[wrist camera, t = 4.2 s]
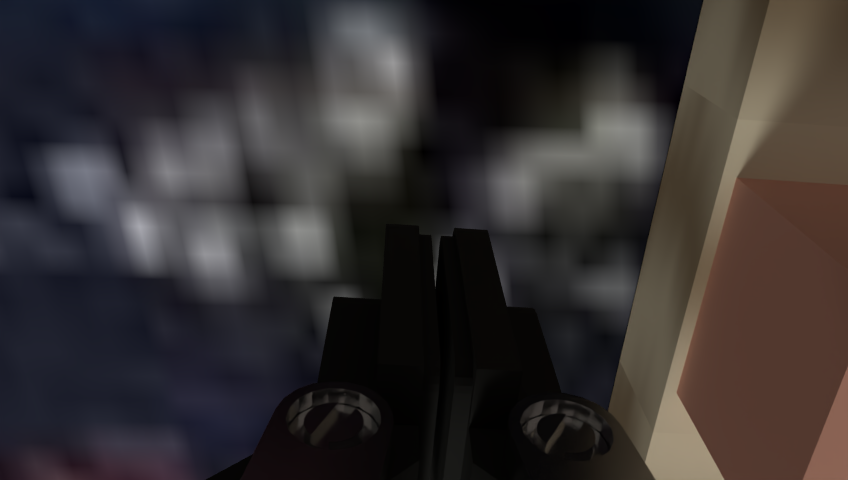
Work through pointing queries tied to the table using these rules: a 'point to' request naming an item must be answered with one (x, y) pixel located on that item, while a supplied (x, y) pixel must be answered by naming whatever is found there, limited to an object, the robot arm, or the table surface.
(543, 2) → the table surface
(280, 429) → the robot arm
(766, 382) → the block
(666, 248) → the trap deck
